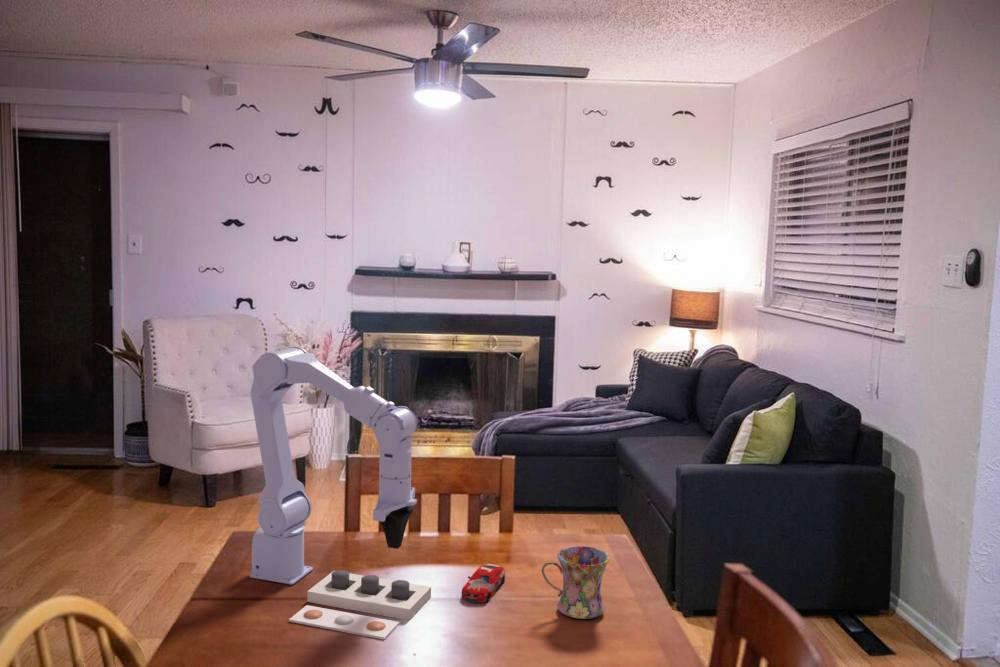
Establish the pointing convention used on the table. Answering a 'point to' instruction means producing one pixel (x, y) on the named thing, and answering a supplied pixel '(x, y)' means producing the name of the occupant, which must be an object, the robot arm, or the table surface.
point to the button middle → (370, 584)
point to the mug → (580, 581)
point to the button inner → (340, 579)
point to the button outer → (400, 590)
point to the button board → (369, 597)
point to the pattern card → (345, 622)
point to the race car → (484, 583)
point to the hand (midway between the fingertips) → (394, 546)
